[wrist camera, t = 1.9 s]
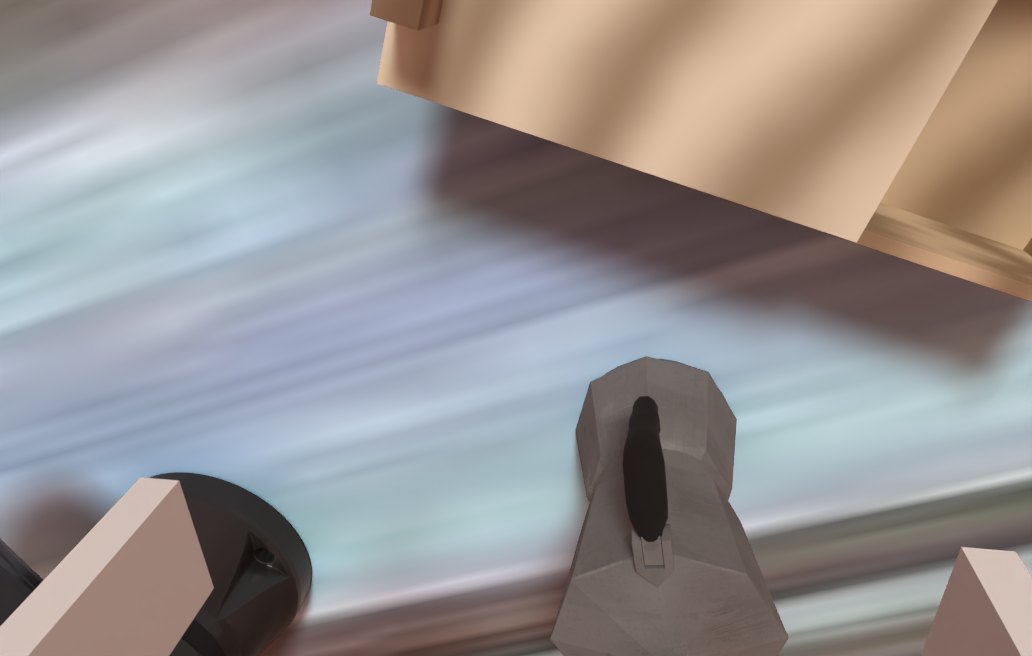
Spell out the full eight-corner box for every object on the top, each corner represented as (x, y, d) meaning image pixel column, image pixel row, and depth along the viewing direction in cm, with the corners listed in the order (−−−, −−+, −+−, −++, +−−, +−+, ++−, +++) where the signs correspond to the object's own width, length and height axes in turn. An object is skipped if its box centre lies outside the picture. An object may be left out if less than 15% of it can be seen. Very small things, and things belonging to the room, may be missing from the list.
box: (626, 128, 34) (626, 175, 26) (768, -258, 26) (821, -338, 19) (1018, 258, 34) (1123, 340, 27) (1267, -88, 26) (1503, -104, 19)
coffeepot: (741, 503, 43) (805, 818, 27) (590, 510, 45) (568, 807, 29) (729, 276, 36) (804, 521, 21) (551, 296, 38) (496, 532, 23)
